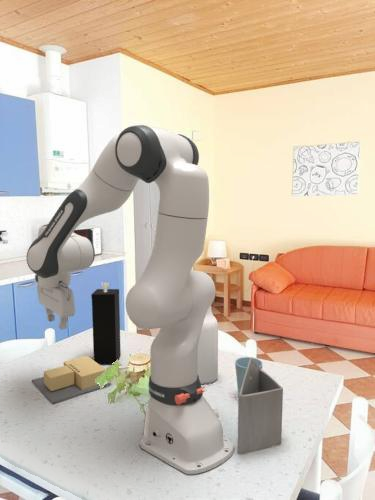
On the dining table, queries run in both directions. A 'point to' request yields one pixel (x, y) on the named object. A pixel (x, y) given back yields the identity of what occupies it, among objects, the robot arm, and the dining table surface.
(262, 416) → the planter
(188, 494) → the dining table surface
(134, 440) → the dining table surface
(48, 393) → the tan block on base
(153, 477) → the dining table surface
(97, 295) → the black square bottle
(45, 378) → the small cardboard box
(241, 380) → the cup
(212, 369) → the alcohol
